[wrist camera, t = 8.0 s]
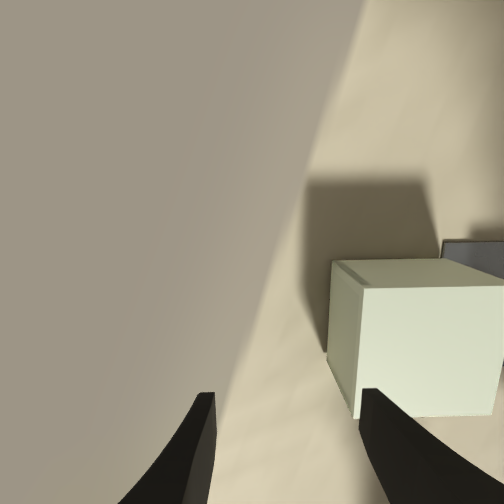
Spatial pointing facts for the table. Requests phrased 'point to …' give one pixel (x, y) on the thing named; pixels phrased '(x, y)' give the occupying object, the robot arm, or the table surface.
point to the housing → (417, 334)
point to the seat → (477, 256)
